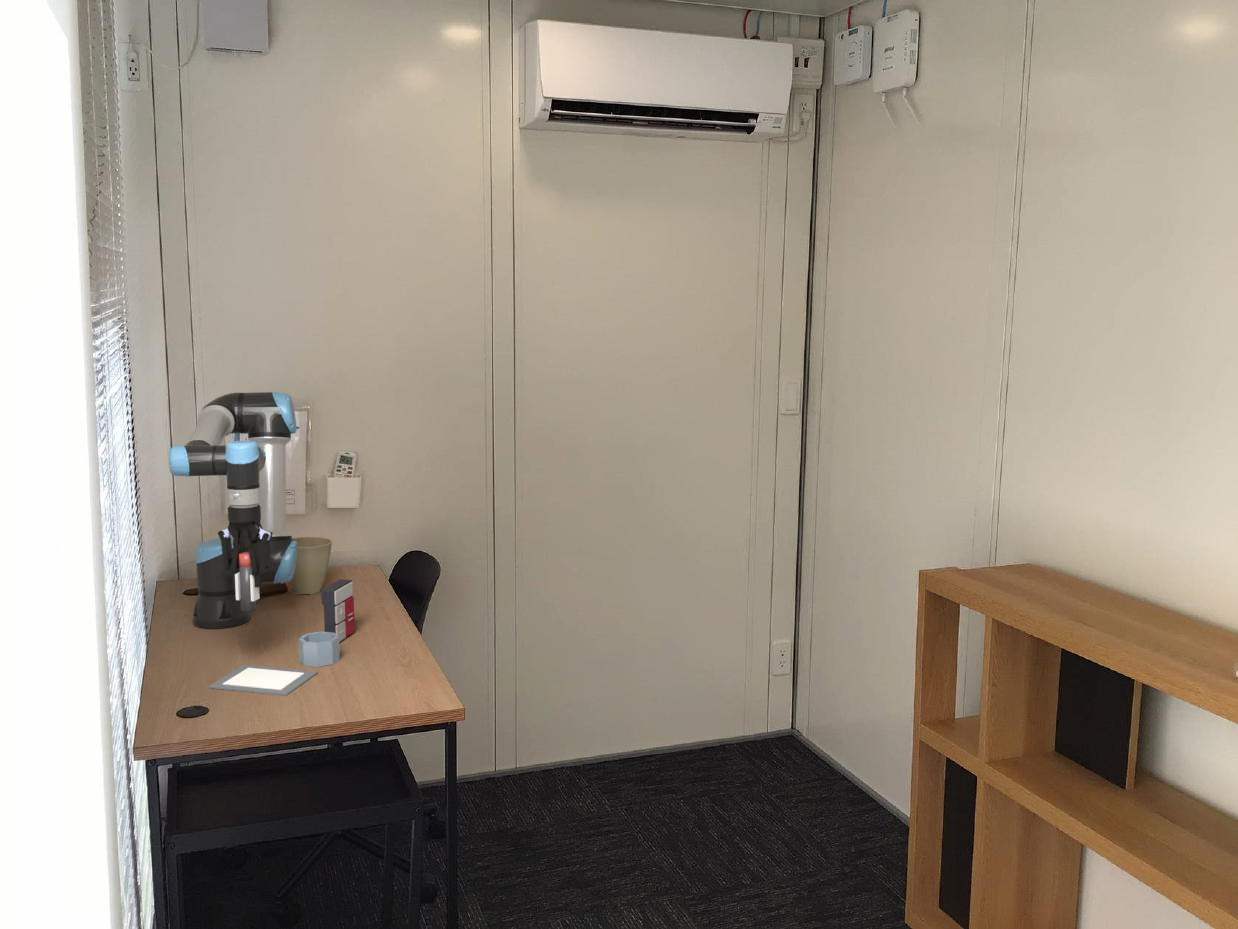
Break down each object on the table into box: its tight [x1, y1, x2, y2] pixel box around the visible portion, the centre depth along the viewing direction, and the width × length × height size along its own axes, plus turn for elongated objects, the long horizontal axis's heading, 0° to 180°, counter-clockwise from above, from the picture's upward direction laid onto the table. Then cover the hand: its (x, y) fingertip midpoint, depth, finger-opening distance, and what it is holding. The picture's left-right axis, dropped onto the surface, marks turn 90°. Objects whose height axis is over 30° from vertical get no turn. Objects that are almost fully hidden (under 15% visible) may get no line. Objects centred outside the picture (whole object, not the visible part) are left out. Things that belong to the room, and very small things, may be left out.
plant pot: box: [290, 536, 333, 595], centre depth 321 cm, size 15×15×16 cm
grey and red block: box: [320, 578, 356, 643], centre depth 277 cm, size 11×4×15 cm, turn 168°
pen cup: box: [298, 631, 341, 668], centre depth 261 cm, size 9×9×6 cm
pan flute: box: [259, 582, 289, 599], centre depth 320 cm, size 25×3×25 cm
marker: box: [239, 552, 257, 612], centre depth 253 cm, size 3×3×14 cm
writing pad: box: [207, 664, 319, 697], centre depth 247 cm, size 20×15×1 cm
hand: (247, 599), depth 253 cm, fingers closed on marker, 3 cm apart
